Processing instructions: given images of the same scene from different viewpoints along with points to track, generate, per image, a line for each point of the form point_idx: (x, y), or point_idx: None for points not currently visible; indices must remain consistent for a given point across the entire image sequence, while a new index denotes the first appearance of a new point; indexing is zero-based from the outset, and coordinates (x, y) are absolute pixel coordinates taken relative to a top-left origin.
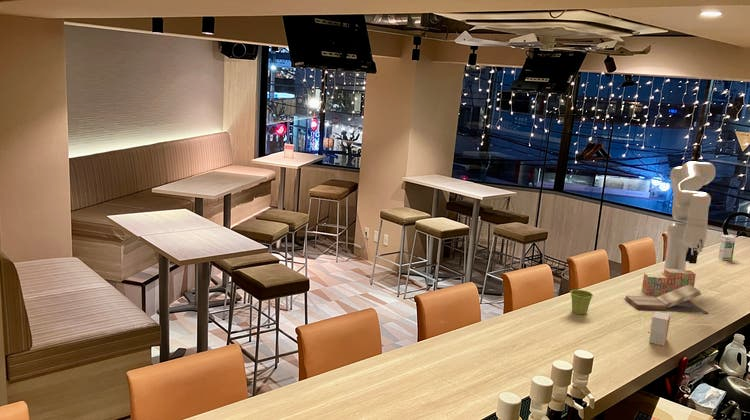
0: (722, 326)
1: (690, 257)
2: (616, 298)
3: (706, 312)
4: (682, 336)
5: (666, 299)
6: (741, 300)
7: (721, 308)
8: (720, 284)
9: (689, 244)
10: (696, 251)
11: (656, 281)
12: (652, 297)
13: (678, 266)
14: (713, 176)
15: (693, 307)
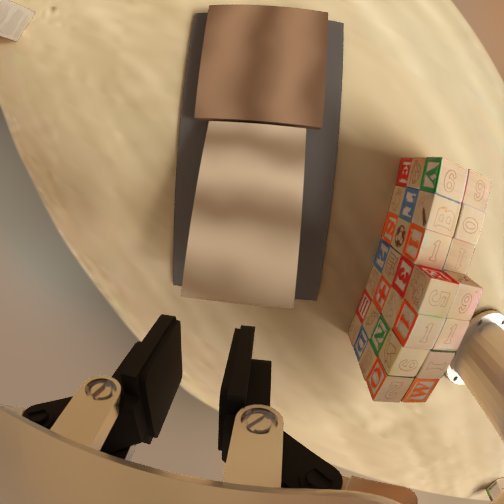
0: (72, 250)
1: (135, 353)
2: (351, 8)
3: (176, 279)
4: (20, 84)
5: (245, 144)
6: None
7: None
8: (420, 454)
9: (8, 468)
10: (23, 415)
11: (421, 199)
12: (308, 113)
13: (492, 387)
14: None
15: None
